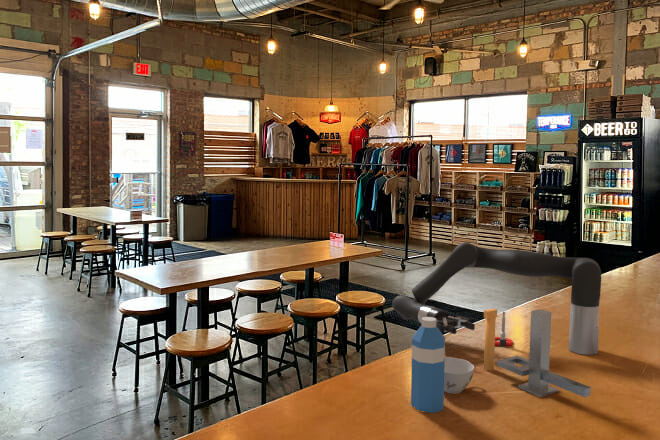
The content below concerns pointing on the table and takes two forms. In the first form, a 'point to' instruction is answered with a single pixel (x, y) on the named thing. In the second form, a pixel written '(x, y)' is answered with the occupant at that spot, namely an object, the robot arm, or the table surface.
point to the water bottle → (428, 367)
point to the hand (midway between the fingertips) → (464, 329)
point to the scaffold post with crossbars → (541, 362)
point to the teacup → (457, 374)
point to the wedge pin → (489, 339)
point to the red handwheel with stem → (503, 336)
